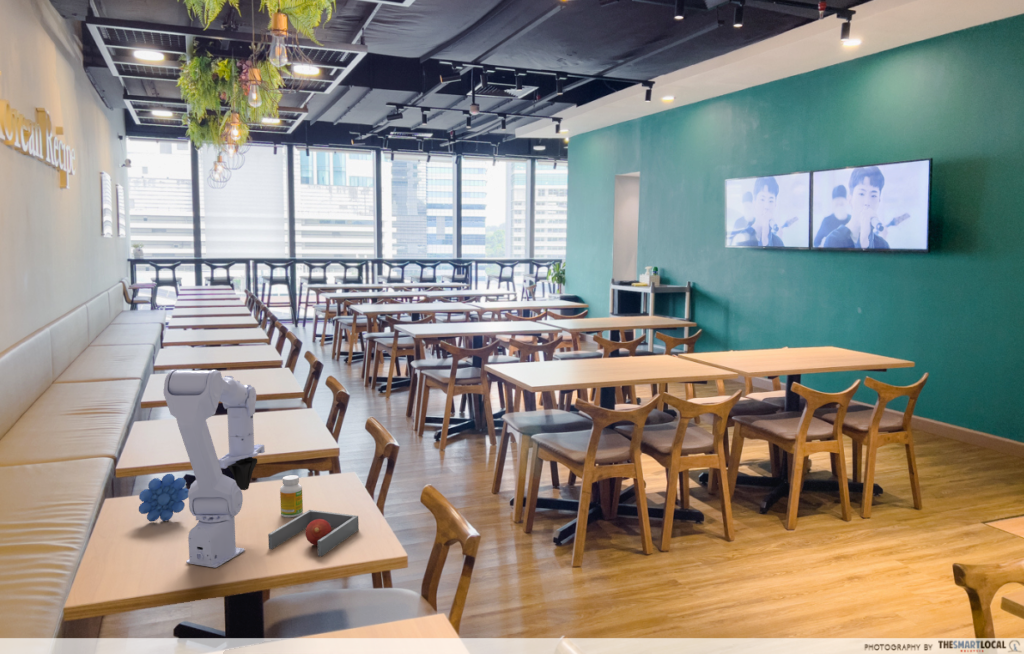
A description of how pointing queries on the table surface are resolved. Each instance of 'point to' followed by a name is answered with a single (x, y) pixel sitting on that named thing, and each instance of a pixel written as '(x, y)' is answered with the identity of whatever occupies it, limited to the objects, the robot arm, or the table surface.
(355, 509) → the table surface
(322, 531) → the onion
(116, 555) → the table surface
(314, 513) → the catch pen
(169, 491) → the blue flower
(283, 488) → the supplement bottle
